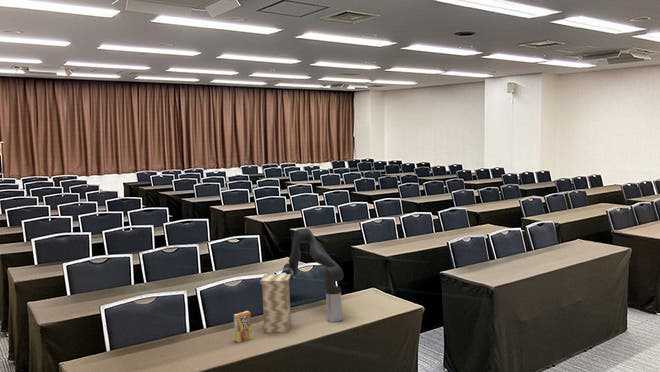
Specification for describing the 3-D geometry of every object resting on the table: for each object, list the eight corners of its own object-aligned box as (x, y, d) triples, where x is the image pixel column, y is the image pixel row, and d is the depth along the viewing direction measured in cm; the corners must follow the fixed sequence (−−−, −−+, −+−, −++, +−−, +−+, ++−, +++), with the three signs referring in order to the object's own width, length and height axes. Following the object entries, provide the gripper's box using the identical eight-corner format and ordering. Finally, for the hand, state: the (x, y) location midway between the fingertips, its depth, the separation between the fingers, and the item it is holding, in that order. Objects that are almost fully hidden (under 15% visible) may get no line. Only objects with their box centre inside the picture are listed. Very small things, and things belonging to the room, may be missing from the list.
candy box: (248, 336, 290) (247, 310, 288) (252, 338, 286) (250, 312, 285) (234, 340, 284) (233, 314, 283) (238, 342, 281) (237, 316, 280)
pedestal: (293, 324, 307) (290, 274, 304) (289, 332, 293) (287, 280, 291) (267, 324, 308) (264, 274, 306) (262, 333, 294) (259, 280, 292)
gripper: (276, 269, 340) (270, 274, 323) (296, 268, 339) (292, 274, 322) (276, 280, 340) (271, 286, 323) (297, 279, 339) (293, 285, 322)
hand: (282, 280), depth 323 cm, fingers closed on toggle bar, 3 cm apart
